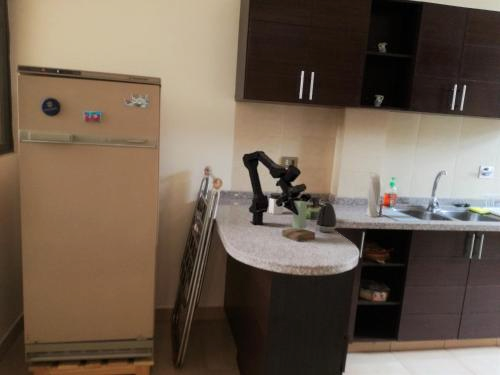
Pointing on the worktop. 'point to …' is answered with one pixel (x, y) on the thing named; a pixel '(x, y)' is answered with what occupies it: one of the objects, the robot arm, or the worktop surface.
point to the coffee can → (313, 208)
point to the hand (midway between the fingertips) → (301, 214)
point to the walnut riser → (298, 234)
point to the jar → (273, 206)
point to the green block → (300, 215)
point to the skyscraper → (374, 197)
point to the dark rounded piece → (326, 218)
